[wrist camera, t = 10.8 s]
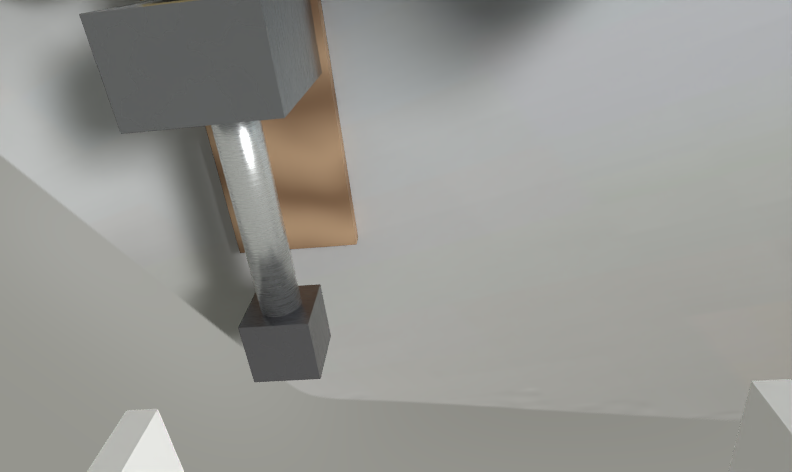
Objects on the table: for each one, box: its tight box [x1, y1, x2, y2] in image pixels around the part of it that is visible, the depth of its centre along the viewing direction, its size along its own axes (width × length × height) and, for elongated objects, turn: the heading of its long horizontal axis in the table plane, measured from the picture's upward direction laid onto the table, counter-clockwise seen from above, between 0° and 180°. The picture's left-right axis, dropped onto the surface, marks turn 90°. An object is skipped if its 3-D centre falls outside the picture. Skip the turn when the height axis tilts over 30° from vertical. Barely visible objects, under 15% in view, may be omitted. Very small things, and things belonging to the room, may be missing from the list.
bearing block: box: [79, 0, 322, 134], centre depth 33 cm, size 6×9×12 cm, turn 96°
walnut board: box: [205, 0, 358, 253], centre depth 40 cm, size 26×10×1 cm, turn 6°
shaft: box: [211, 120, 331, 382], centre depth 37 cm, size 25×5×5 cm, turn 6°
